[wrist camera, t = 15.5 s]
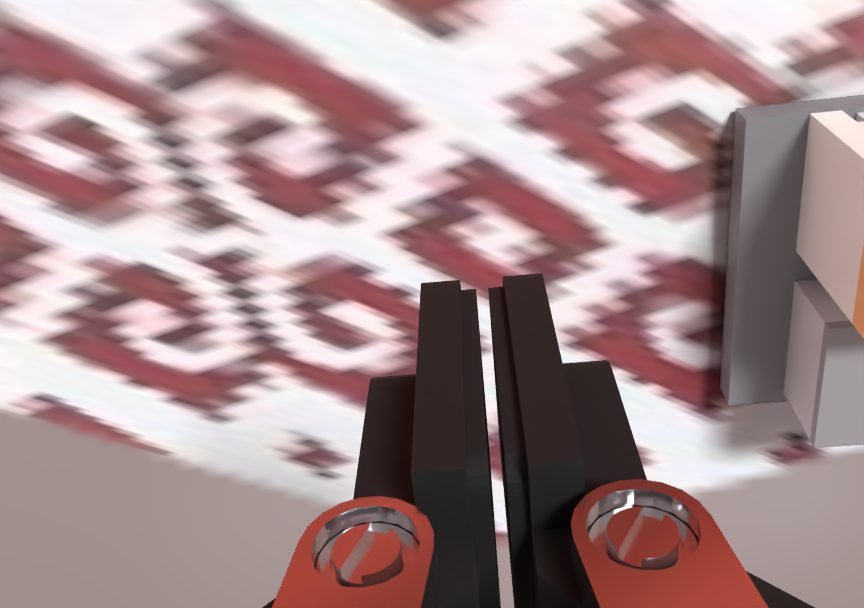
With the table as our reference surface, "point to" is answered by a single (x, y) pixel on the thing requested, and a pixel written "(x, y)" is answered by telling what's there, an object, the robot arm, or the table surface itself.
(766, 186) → the rail board
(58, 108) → the table surface
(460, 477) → the robot arm
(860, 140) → the block
